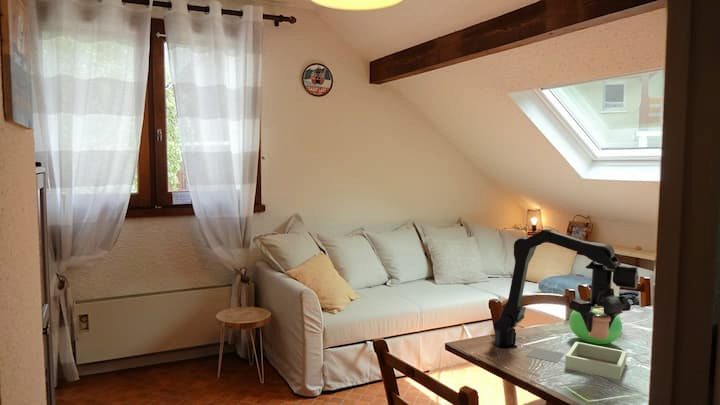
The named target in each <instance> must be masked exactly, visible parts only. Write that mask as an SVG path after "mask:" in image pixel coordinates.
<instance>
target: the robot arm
mask: <svg viewBox="0 0 720 405" xmlns="http://www.w3.org/2000/svg"><path fill="white" fill-rule="evenodd" d="M546 242H548V243H550V244H552V245H557V246H558V247H563V248H565V249H568V250H571V251H573V252H576V253H580V254H581V255H583V256H584V257H585V258H587V259H589V260H591V261H590V263H589V264H588V265H586V266H585V268H586V269H587V270H591V271H592V272H591V273H592V274H591V284H589V285H588V289H590V296H589V297H587V301H585V300H583V299H571V300H570V301H569V305H568V309H571V310H572V311H573V310H574V311H577V312H579V313H580V314H581V316H582V318H583V320H584V323H585V325H586V328H587V330H588V332H591V329H592V317H593V316H594V315H595V313H593V312H592V308H604V314H608V315H610V316H611V321H610V322H609V329H610V327H611V324H612V322H613V320H614V319H615V317H616V316H617V315H618V314H620V315H621V314H623V313H624V312H630V311H631V304H630V302H629V300H628V299H629V298H628V297H627V296H626V295H619V296H615V295H614V289H613V288H611V279H612V272H613V282H614V284H616V286H619V287H620V288H627V289H632V290H637V289H638V285H639V277H640V276H639V271H638V268H639V267H638V266H632V265H631V266H628V265H622V264H621V262H620V261H619V259H618V257H616V255H615V253H616V252H615V250H614V247H613V246H612V245H611V244H608V243H603V242H593V241H586V240H583V239H580V238H577V237H574V236H572V235H571V236H570V235H568V234H565V233H562V232H559V231H556V230H553V229H551V228H545V229H542V230H541V231H539V232H538V233H535V234H533V235H531V236H524V237H521V238H518V239H517V240H515V241H514V243H513V257H514V265H513V266H514V267H513V273H512V278H511V283H510V288H509V294H508V298H507V302H506V303H505V305H504V306H503V309H502V311H501V313H500V316H499V319H498V320H496V321H495V322H494V323H493V328H494V331H495V332H494V341H492V342H491V343H492V344H493V345H495V346H496V347H498V348H499V349H502V350H504V349H514V348H515V349H516V348H518V344H517V342H516V341H517V333H516V329H515V328H516V327H517V325H518V324H520V323H521V322H522V320H524V319H525V311H526V310H527V308H526V307H525V306H523V304H522V299H523V293H524V288H525V284H526V279H527V273H528V268H529V264H530V262H531V260H532V258H533V256H534V255H535V251H536V249H537V247H538V246H540V245H542V244H544V243H546ZM588 302H589V303H588ZM621 310H622V311H621ZM608 331H609V330H608ZM516 344H517V345H516Z"/></svg>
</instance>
